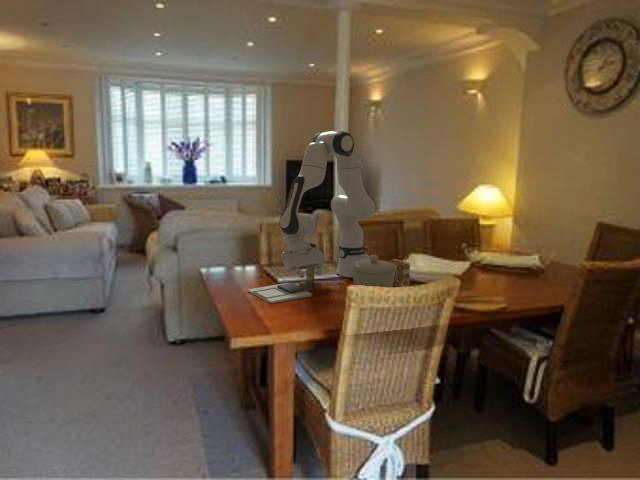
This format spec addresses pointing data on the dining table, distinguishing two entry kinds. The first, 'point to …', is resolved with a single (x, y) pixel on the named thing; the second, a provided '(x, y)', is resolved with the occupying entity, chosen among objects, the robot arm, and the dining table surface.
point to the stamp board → (280, 292)
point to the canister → (373, 272)
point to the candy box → (401, 273)
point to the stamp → (310, 280)
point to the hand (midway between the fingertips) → (311, 275)
